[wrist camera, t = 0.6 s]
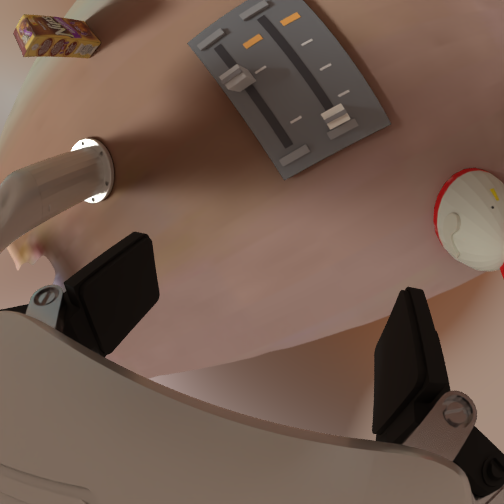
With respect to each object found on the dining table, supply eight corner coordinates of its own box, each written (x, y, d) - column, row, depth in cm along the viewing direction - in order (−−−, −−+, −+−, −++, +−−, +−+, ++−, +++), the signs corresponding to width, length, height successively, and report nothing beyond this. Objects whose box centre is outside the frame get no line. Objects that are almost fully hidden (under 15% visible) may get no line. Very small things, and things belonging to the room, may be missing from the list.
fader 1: (239, 92, 32) (226, 89, 27) (231, 80, 31) (216, 76, 27) (256, 80, 30) (245, 76, 26) (247, 69, 30) (235, 63, 26)
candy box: (103, 41, 32) (34, 36, 19) (89, 59, 34) (22, 60, 21) (85, 19, 30) (22, 13, 17) (73, 36, 32) (11, 35, 19)
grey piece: (503, 164, 26) (564, 195, 13) (502, 247, 31) (547, 301, 19) (428, 174, 31) (477, 210, 19) (434, 262, 37) (466, 326, 24)
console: (286, 177, 37) (283, 181, 35) (192, 45, 31) (184, 42, 29) (388, 123, 30) (392, 124, 28) (284, -16, 24) (282, -22, 22)
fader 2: (330, 128, 31) (330, 129, 27) (321, 114, 30) (320, 114, 26) (347, 118, 30) (351, 118, 26) (339, 104, 29) (341, 102, 25)
